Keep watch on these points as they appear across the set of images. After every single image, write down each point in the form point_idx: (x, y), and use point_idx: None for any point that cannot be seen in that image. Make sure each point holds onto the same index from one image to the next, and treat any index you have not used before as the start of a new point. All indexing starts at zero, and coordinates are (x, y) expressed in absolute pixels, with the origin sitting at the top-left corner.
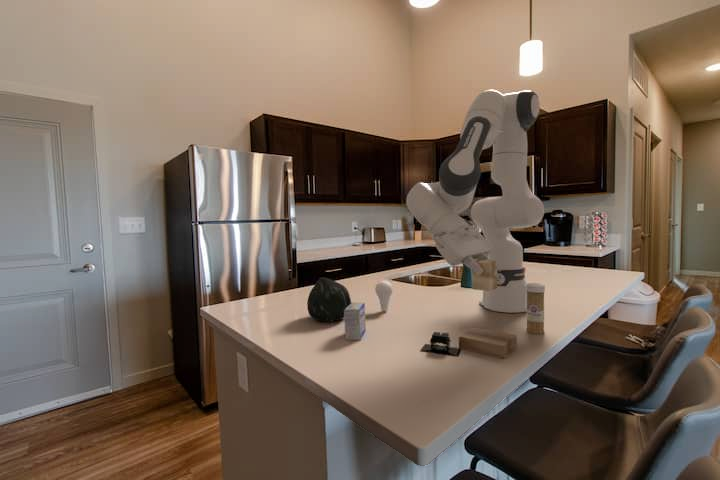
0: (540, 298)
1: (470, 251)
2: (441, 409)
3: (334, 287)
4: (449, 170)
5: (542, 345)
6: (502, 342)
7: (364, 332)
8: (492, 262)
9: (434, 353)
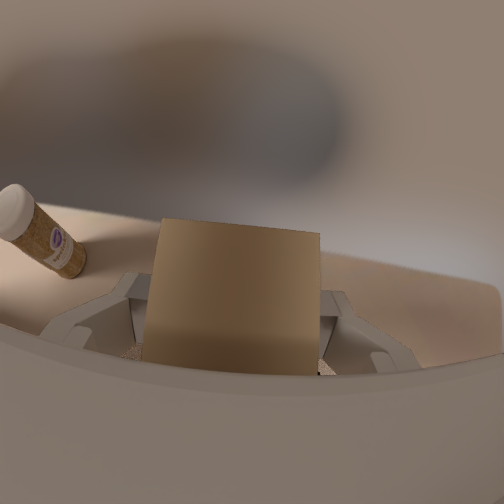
0: (40, 208)
1: (420, 389)
2: (464, 303)
3: None
4: None
5: (152, 233)
6: None
7: None
8: (266, 230)
9: None
